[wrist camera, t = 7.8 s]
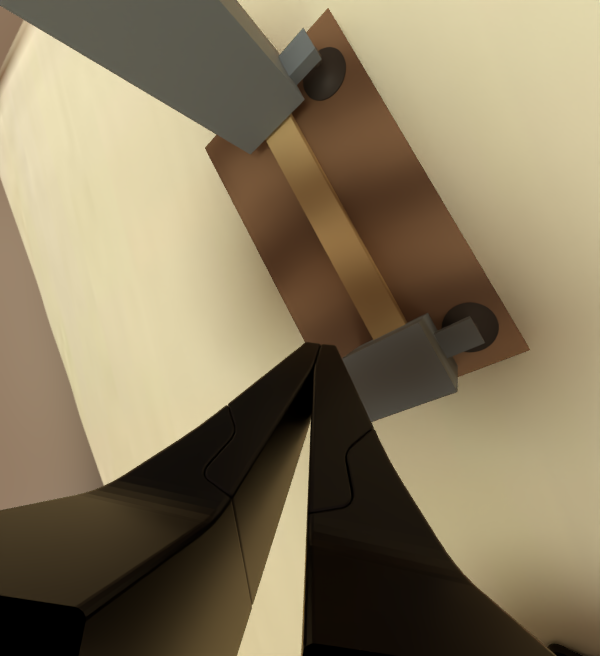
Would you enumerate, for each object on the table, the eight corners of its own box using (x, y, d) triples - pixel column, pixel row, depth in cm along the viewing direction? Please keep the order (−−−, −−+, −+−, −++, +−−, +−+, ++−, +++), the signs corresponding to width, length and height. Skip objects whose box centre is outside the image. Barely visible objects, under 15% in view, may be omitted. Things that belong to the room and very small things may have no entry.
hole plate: (525, 344, 15) (554, 373, 10) (350, 411, 20) (317, 451, 15) (336, 24, 17) (290, -71, 12) (217, 154, 22) (151, 120, 17)
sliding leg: (335, 79, 16) (102, -294, 5) (256, 158, 18) (-1, 5, 8) (308, 32, 16) (37, -408, 6) (234, 116, 19) (-42, -84, 8)
